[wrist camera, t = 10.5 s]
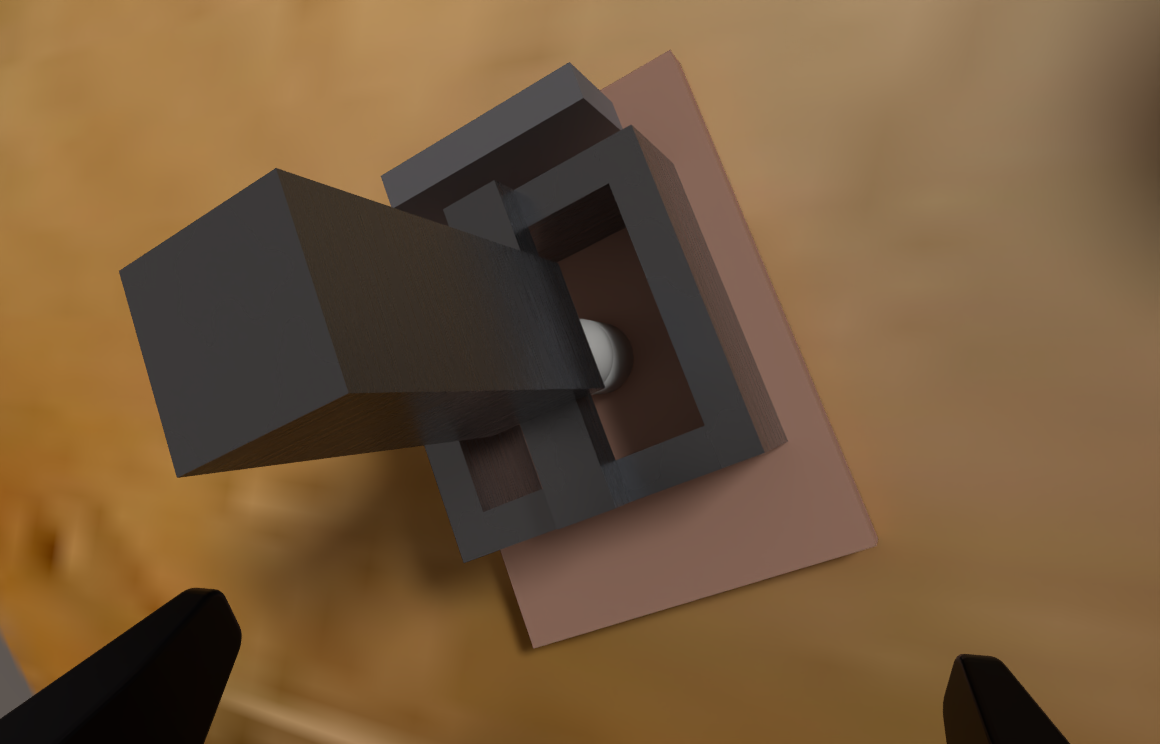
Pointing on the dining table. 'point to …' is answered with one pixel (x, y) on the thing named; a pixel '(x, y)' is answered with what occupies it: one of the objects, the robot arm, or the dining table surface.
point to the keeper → (654, 370)
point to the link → (441, 339)
